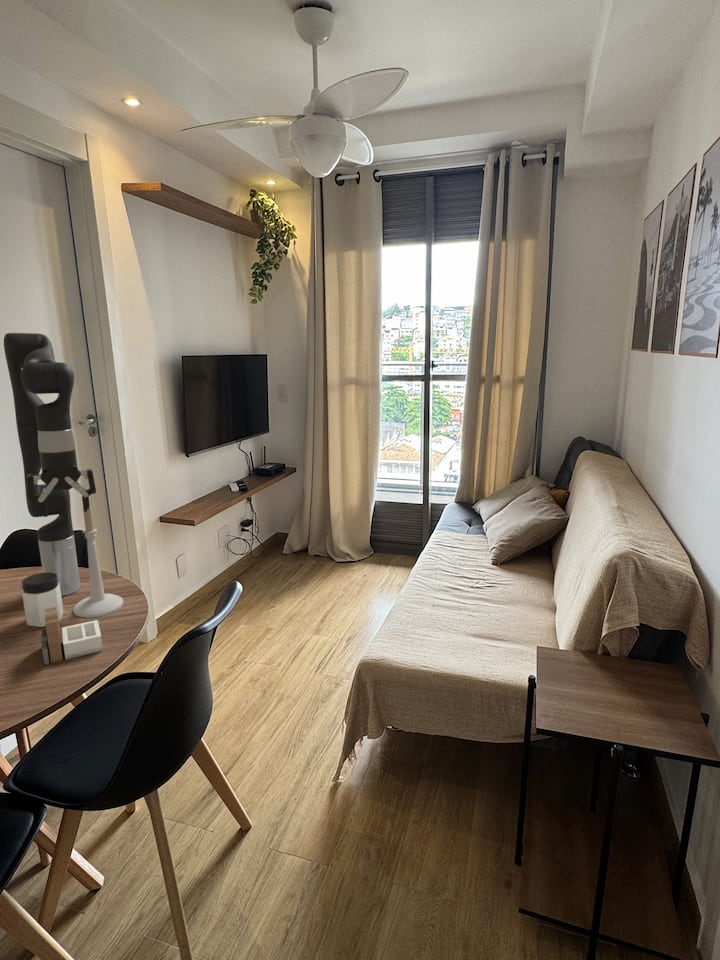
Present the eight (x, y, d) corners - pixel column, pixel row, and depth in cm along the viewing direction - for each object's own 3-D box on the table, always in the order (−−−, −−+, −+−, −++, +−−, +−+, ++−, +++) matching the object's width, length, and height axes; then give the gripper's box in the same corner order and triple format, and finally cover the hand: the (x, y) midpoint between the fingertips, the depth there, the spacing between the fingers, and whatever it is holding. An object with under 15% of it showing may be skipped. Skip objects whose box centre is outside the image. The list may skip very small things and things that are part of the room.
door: (45, 647, 130) (40, 610, 128) (61, 643, 132) (56, 607, 130) (46, 663, 124) (40, 624, 121) (62, 659, 125) (57, 621, 123)
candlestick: (73, 602, 154) (60, 502, 147) (121, 593, 159) (111, 497, 152) (73, 621, 143) (59, 515, 136) (125, 611, 148) (114, 508, 141)
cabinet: (44, 646, 130) (41, 628, 129) (99, 633, 137) (97, 616, 135) (44, 665, 123) (41, 645, 122) (102, 650, 129) (100, 632, 128)
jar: (33, 613, 147) (27, 573, 144) (66, 609, 149) (60, 570, 146) (23, 629, 138) (16, 587, 136) (58, 625, 141) (52, 583, 138)
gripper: (89, 443, 133) (96, 505, 137) (22, 448, 126) (32, 513, 130) (92, 448, 126) (99, 513, 130) (21, 453, 119) (31, 522, 123)
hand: (65, 513), depth 130 cm, fingers open, 8 cm apart
